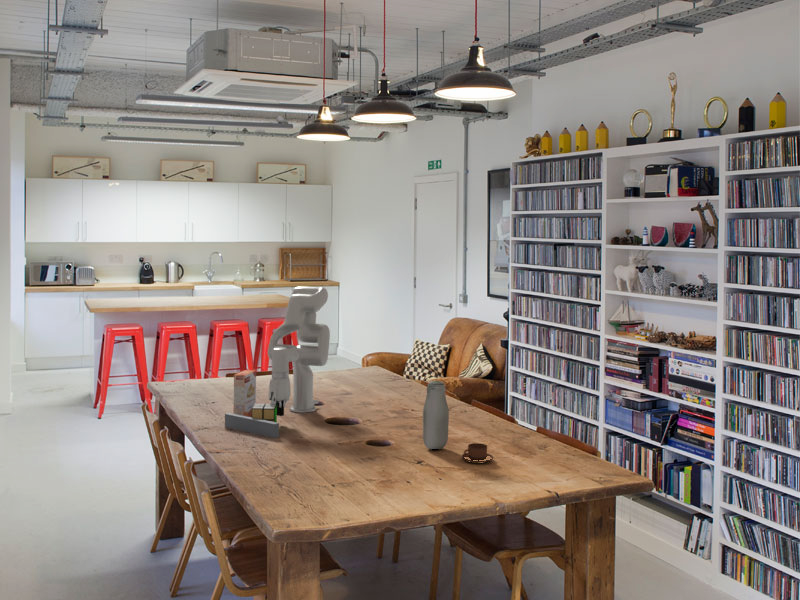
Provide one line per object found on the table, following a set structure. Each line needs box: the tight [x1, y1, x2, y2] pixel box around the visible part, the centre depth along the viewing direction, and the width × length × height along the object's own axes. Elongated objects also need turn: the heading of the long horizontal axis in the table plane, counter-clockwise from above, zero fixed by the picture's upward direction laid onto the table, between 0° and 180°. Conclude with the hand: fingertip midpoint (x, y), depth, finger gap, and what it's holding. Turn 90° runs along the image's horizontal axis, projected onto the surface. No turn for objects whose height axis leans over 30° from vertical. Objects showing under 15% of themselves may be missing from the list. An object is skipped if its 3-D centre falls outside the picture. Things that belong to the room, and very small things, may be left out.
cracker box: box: [232, 369, 257, 417], centre depth 384 cm, size 14×6×21 cm, turn 168°
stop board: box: [224, 412, 280, 439], centre depth 356 cm, size 2×30×6 cm, turn 55°
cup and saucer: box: [461, 442, 494, 463], centre depth 319 cm, size 12×12×6 cm
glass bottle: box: [422, 380, 450, 450], centre depth 333 cm, size 10×10×28 cm
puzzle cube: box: [250, 403, 278, 423], centre depth 362 cm, size 10×10×10 cm
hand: (280, 415), depth 371 cm, fingers closed
